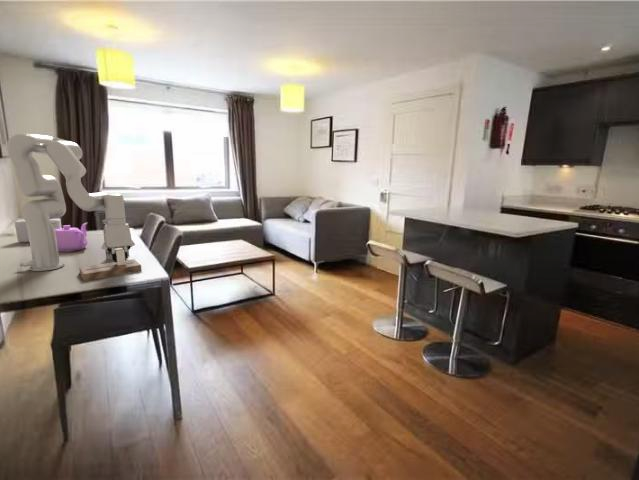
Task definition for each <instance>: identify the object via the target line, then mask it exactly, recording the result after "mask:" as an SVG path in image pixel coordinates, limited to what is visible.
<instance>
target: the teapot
mask: <svg viewBox="0 0 639 480" xmlns="http://www.w3.org/2000/svg"><path fill="white" fill-rule="evenodd" d="M87 225H88V222H87V221H86V222H84V223H83V224H81V227H80V229H79V227H71V225H70V224H67V225H66V224H65V225H62V228H61V229H55V234H56V240H57V247H58V253H60V252H63V253H65V252H67V253H71V252H73V251H79V250H82V249H85V248H86V247H87V245H88V239H87V235H88V234H87V229H86V228H87ZM70 251H71V252H70Z"/></svg>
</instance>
